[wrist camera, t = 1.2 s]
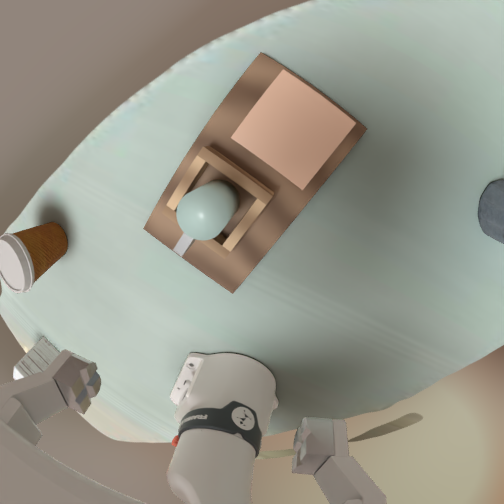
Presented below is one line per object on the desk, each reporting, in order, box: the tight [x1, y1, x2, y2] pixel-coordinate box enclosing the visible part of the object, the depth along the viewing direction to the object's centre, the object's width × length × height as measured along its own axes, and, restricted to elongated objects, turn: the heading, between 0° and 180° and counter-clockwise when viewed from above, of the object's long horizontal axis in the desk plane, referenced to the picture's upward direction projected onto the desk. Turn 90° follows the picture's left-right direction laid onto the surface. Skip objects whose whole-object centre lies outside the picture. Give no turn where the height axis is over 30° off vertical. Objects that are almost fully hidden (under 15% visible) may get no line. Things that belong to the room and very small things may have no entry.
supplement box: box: [13, 337, 60, 380], centre depth 49 cm, size 7×7×13 cm
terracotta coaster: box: [231, 69, 356, 190], centre depth 30 cm, size 10×10×1 cm
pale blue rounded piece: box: [173, 179, 240, 257], centre depth 31 cm, size 8×5×8 cm, turn 144°
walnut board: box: [143, 53, 367, 294], centre depth 32 cm, size 27×15×4 cm, turn 144°
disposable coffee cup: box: [0, 222, 68, 293], centre depth 36 cm, size 10×10×12 cm
